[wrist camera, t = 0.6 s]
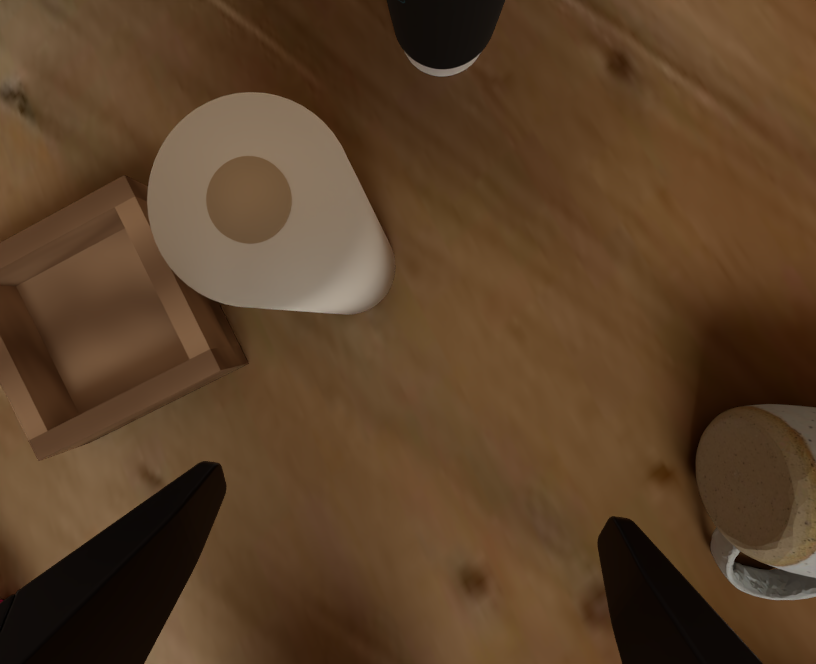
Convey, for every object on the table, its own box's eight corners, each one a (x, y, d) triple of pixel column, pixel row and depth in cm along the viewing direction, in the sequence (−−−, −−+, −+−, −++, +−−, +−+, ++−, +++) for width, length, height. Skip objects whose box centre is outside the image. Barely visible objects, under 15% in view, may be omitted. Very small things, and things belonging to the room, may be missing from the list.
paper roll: (373, 329, 22) (305, 340, 10) (286, 292, 22) (114, 258, 10) (410, 240, 22) (388, 137, 9) (322, 203, 22) (189, 57, 10)
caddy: (248, 363, 22) (220, 370, 19) (89, 442, 23) (38, 461, 20) (165, 194, 22) (124, 174, 19) (8, 278, 23) (-55, 272, 20)
